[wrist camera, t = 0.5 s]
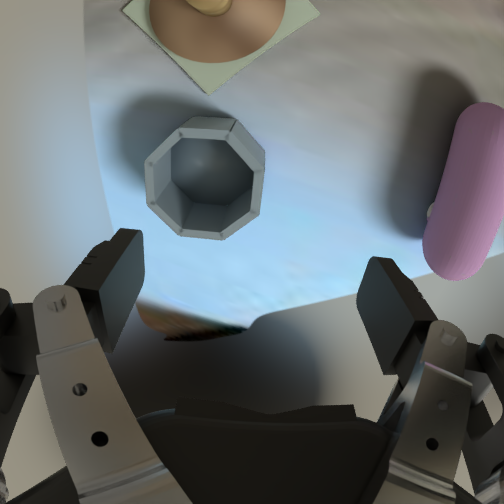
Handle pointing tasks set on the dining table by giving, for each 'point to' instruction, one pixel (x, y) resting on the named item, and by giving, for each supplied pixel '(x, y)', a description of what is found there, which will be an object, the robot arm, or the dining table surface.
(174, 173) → the cup
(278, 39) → the mat
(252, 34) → the lid
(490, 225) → the toy
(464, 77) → the dining table surface
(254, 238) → the dining table surface
